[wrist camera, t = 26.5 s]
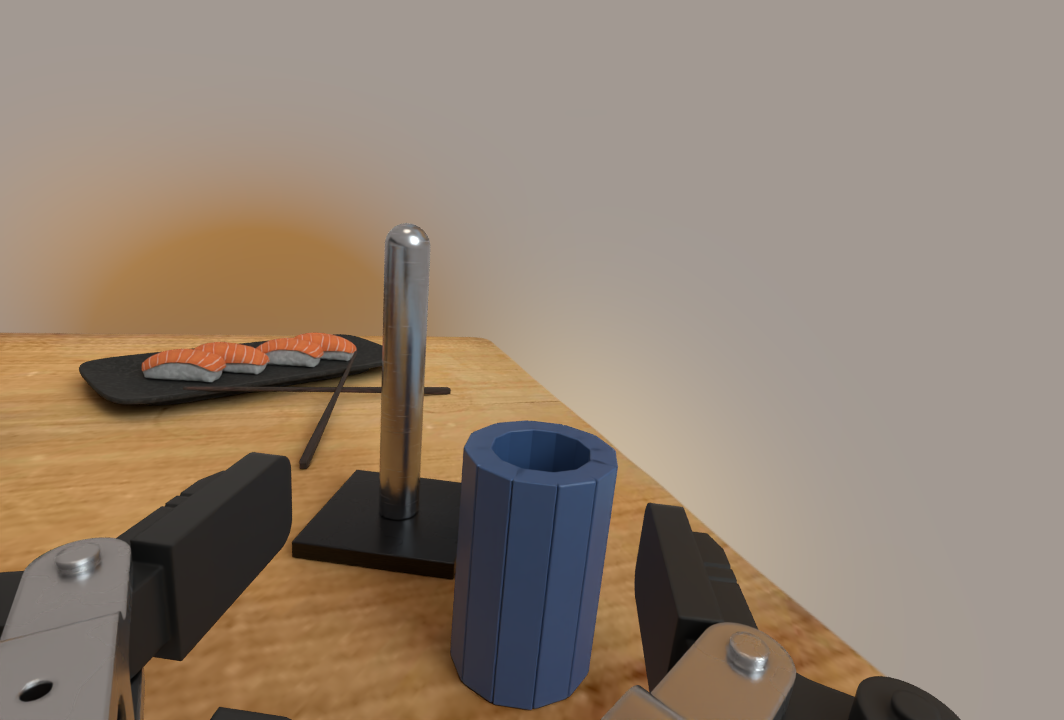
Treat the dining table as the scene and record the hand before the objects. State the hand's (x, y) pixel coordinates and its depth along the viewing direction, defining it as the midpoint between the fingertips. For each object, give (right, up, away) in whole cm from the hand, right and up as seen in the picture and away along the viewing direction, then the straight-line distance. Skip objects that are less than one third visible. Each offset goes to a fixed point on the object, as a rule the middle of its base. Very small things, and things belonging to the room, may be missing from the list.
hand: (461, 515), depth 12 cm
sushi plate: (-22, 0, +42) cm, 47 cm away
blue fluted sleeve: (+1, -10, +13) cm, 16 cm away
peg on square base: (-7, -7, +22) cm, 24 cm away
